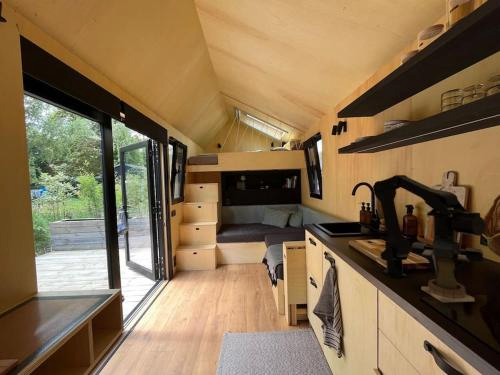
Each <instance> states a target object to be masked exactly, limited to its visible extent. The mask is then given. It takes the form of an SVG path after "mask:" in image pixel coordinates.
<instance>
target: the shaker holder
mask: <svg viewBox="0 0 500 375" xmlns="http://www.w3.org/2000/svg"><path fill="white" fill-rule="evenodd" d="M436 282H437V278H435V279H434V278H433V279H432V278H431V279H430V280H428V282H427V283H428V284H427V285H428V286H424V285H423V286H421V288H420V290H422V291H423V292H425V293H427V294H428V295H430V296H431V297H433V298H435V299H436V300H438V301H440V302H441V303H466V302H468V303H469V302H470V303H471V302H475V297H473V296H471V295H469V294H467V292H466V291H467V290H466V287H465V285H463V284H461V283H459V282H457V281H456V285H457V289H445V288H441V287H438V286H436Z"/></svg>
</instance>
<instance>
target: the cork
mask: <svg viewBox="0 0 500 375" xmlns="http://www.w3.org/2000/svg"><path fill="white" fill-rule="evenodd" d="M456 266H457V262H455V260H453V259H451V258H446V257H441V258H438V259H437V261H436V267H438V270H437V275H436V276H437V277H436V279H437V282H436V286H438V287H441V288H445V289H457V285H456V282H457V279H456V278H455V271H456Z"/></svg>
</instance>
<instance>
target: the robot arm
mask: <svg viewBox="0 0 500 375" xmlns="http://www.w3.org/2000/svg"><path fill="white" fill-rule="evenodd" d="M398 189H403V190H405V191H407V192H409V193H411V194H413V195H414V196H417V197H419V198H421V200H423V202H424V203H425V204H426V205H427V206H428V207H430V208H431V210H429V211H428V212H427V213H426V215H427V217H428V216H430V217H433V241H432V246H429V245H427V242H419V241H416V242H415V241H414V242H413V243H412V244H411V246H410V240H409V238H405V237H404V236H403V235H402V232H401V228H400V227H401V226H400V222H399V218H398V213H397V210H396V209H397V208H396V205H395V198H396V196H397V190H398ZM372 190H373V194H374V195H375V197H376V199H377V200H378V201H379V202H380V205H381V209H382V210H381V211H382V215H383V219H384V224H385V229H386V233H387V237H386V241H385V243H384V244H385V249H384V250H383V251H382V252H381V253H380V258H381V260H383V261H384V262H386V263H385V265H386V270H383V271H382V273H384V274H386V275H387V276H389V277H390V278H401V277H407V276H408V275H407V274H405V273H403V272H404V270H403V269H404V268H403V267H404V265H403V261H404V260H405V261H407V260H408V257H409V255H410V253H413V254H420V255H421V256H422V257H424V258H426V259H427V261H428V262H429V265H430V267H431V269H432V271H433V274H434V276H437V261H436V257H441V258H446V259H452V258H453V257H454V256H457V259H456V269H455V271H454V273H455V279H456V280H457V279H458V277H459V274H460V272H461V270H462V267H463V266H464V265H465V263H470V261H473V262H480V263H482V262H484V251H483V249H481V248H473V247H466V249H461V242H457V239H456V238H457V237H456V233H458V234H459V233H460V234H465V235H472V236H477V237H479V236H480V237H481V236H482V235H484V233H485V231H486V228H487V224H486V221H485V220H484V218H483V217H482V216H481V213H480V212H469V211H467V209H466V208H465V207H464V206H463V204H462V203H461V202H460V201H459V198H458V196H457V195H456V194H455V193H454V192H450V191H447V190H441V189H434V188H431V187H430V186H427V185H425V184H423V183H421V182H419V181H417V180H414V179H412V178H410V177H408V176H407V175H406V174H405V175H404V174H396V175H394V176H393V175H392V176H391V177H388V178H385V179H383V180H378V181H375V182H374V184H373V186H372Z"/></svg>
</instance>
